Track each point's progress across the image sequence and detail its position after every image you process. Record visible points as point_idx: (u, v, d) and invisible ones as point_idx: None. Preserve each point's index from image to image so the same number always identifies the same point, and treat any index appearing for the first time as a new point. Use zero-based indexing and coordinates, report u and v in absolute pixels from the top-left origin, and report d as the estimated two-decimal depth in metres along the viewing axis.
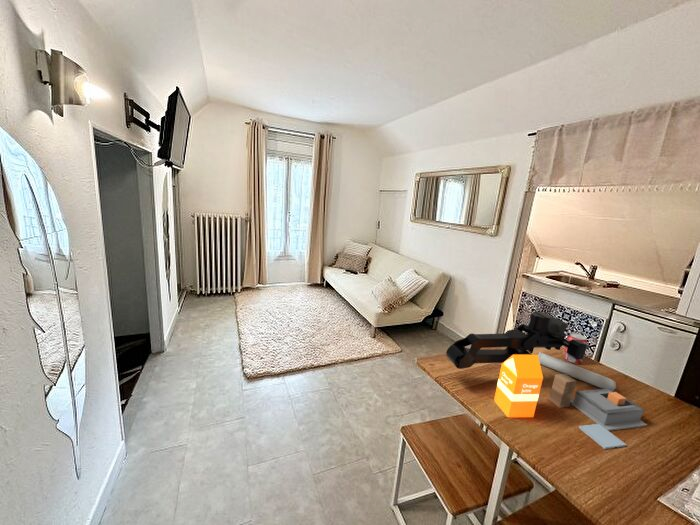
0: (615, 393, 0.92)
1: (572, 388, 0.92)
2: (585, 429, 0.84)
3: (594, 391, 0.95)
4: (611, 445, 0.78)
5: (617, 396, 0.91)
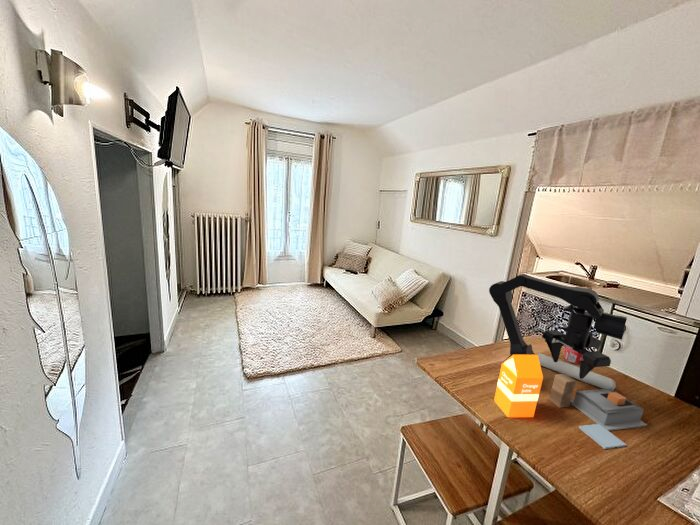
0: (615, 393, 0.92)
1: (572, 388, 0.92)
2: (585, 429, 0.84)
3: (594, 391, 0.95)
4: (611, 445, 0.78)
5: (617, 396, 0.91)
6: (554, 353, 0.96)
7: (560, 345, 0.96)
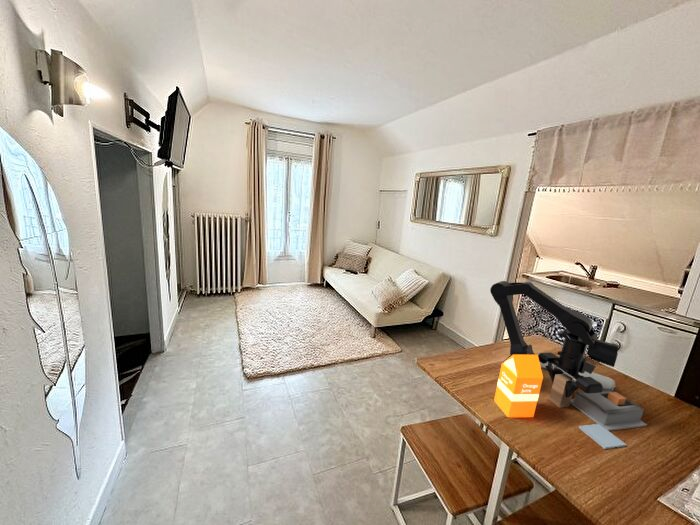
0: (615, 393, 0.92)
1: None
2: (585, 429, 0.84)
3: None
4: (611, 445, 0.78)
5: (617, 396, 0.91)
6: None
7: (561, 372, 0.96)
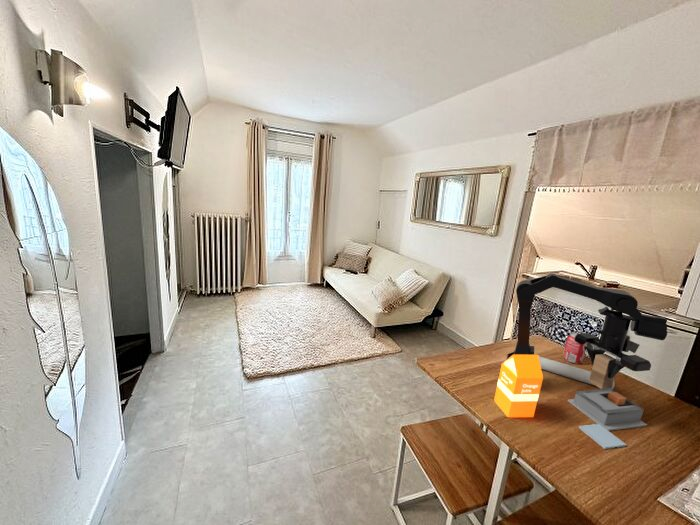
0: (615, 393, 0.92)
1: None
2: (585, 429, 0.84)
3: (594, 391, 0.95)
4: (611, 445, 0.78)
5: (617, 396, 0.91)
6: None
7: (601, 352, 0.92)
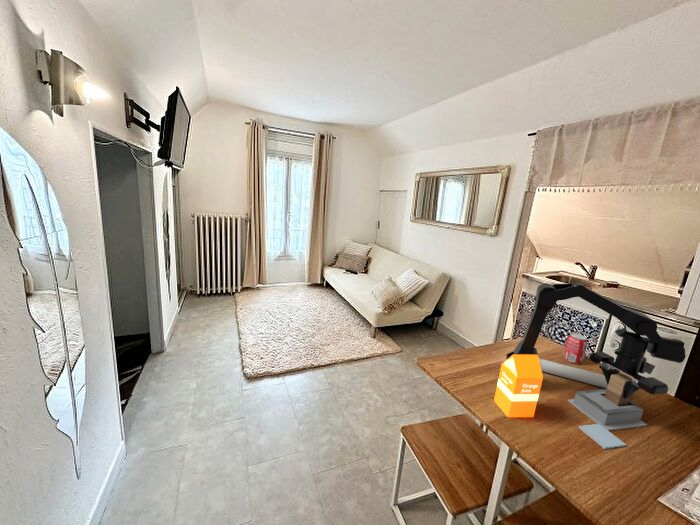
0: None
1: None
2: (585, 429, 0.84)
3: (594, 391, 0.95)
4: (611, 445, 0.78)
5: None
6: None
7: (616, 372, 0.92)
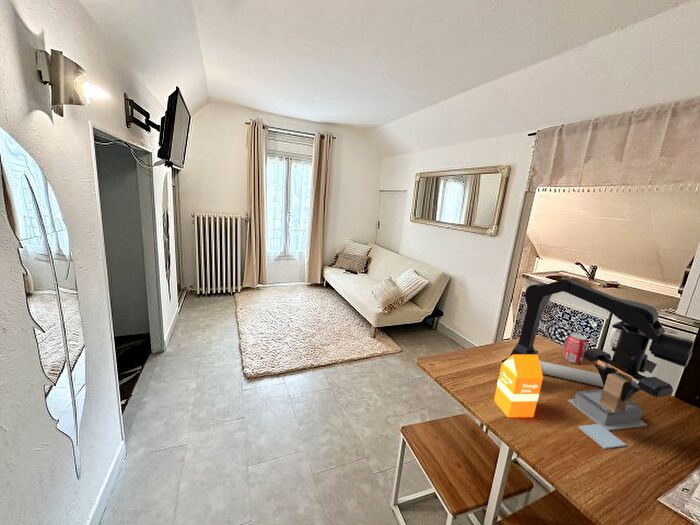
0: None
1: None
2: (585, 429, 0.84)
3: (594, 391, 0.95)
4: (611, 445, 0.78)
5: None
6: None
7: (613, 371, 0.82)
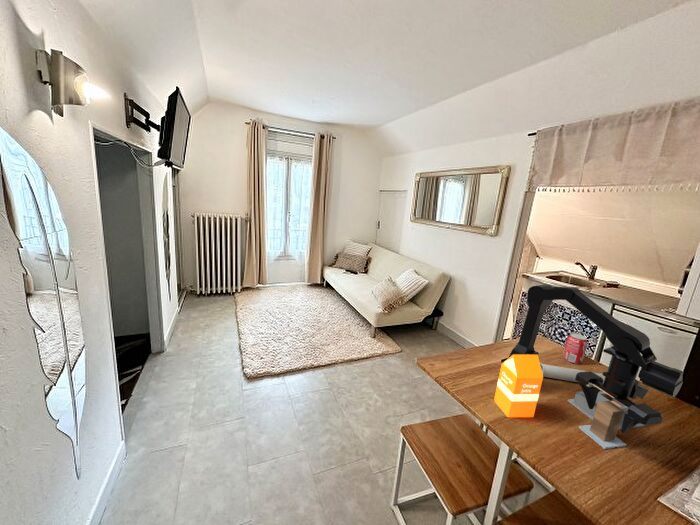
0: None
1: (619, 418, 0.79)
2: (585, 429, 0.84)
3: None
4: (611, 445, 0.78)
5: None
6: (590, 399, 0.84)
7: (597, 390, 0.84)
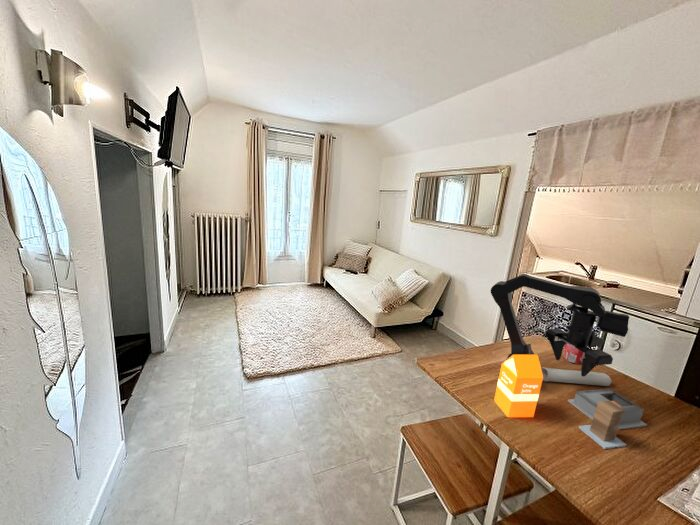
0: None
1: (619, 418, 0.79)
2: (585, 429, 0.84)
3: (594, 391, 0.95)
4: (611, 445, 0.78)
5: None
6: (556, 351, 0.97)
7: (562, 343, 0.98)
